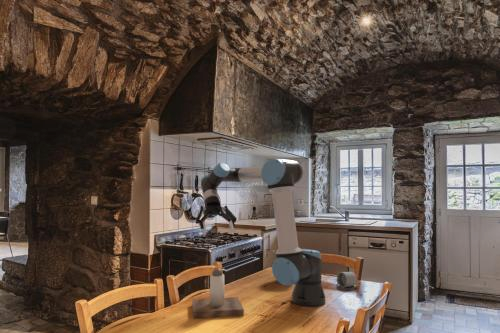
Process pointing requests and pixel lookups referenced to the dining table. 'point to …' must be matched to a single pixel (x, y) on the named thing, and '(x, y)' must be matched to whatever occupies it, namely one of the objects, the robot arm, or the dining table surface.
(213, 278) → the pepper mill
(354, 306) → the dining table surface
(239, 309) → the walnut board
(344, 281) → the ceramic mug
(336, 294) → the dining table surface
